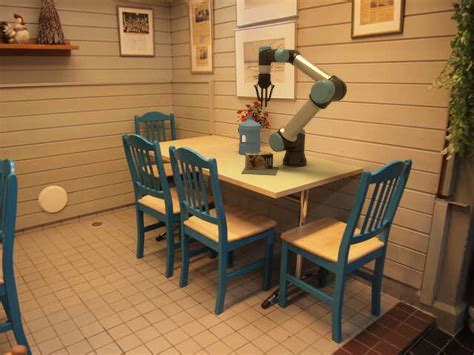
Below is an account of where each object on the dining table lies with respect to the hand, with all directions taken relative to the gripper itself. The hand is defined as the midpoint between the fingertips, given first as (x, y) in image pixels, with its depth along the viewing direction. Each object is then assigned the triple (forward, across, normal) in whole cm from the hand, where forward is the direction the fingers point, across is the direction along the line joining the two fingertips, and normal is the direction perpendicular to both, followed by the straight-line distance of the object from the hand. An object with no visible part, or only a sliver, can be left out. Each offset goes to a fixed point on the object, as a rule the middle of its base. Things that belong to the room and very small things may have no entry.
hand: (263, 112), depth 235 cm
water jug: (+33, +13, -30) cm, 46 cm away
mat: (+32, 0, +18) cm, 37 cm away
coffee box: (+28, +9, +16) cm, 33 cm away
